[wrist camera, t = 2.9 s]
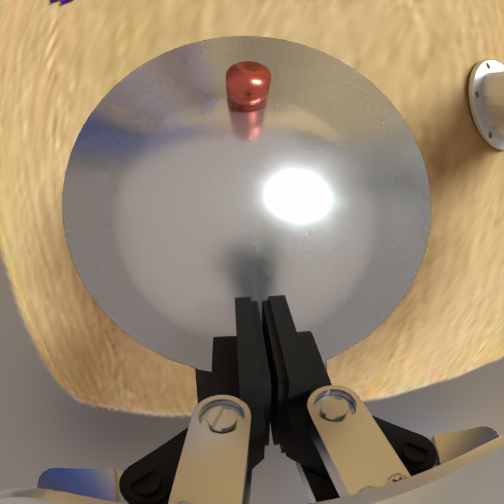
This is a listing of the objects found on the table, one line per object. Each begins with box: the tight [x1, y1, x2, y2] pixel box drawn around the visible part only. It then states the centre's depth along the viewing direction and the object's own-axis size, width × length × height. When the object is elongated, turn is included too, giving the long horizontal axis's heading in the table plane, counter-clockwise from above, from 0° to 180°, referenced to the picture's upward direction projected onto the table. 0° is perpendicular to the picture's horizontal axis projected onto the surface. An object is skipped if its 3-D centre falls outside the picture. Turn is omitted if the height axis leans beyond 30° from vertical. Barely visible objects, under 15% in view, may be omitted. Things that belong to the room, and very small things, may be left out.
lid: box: [62, 36, 431, 404], centre depth 12 cm, size 18×20×3 cm
